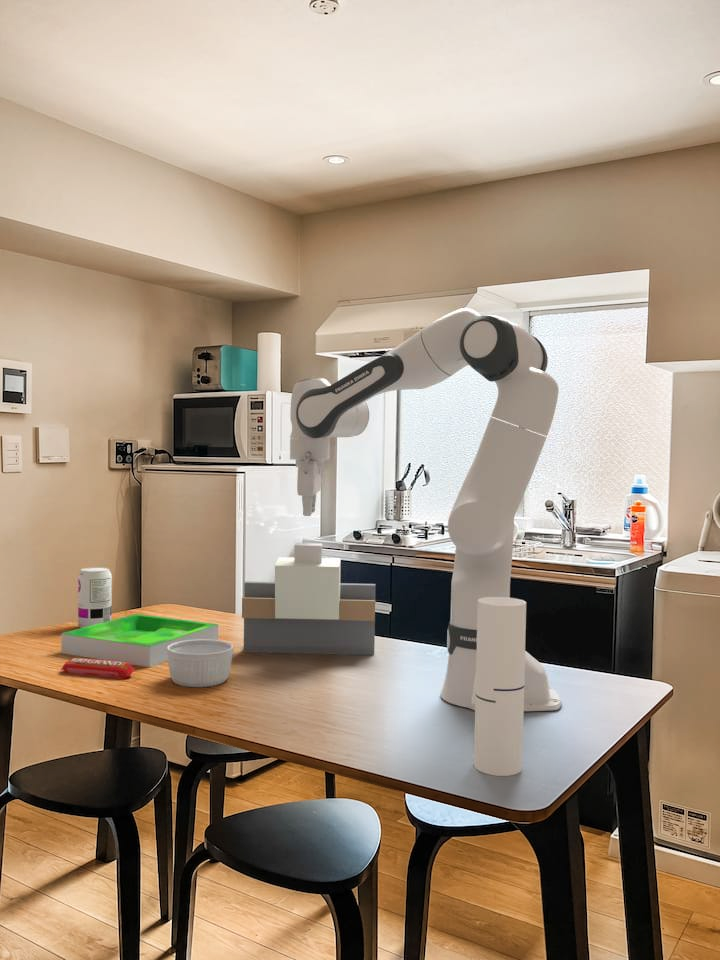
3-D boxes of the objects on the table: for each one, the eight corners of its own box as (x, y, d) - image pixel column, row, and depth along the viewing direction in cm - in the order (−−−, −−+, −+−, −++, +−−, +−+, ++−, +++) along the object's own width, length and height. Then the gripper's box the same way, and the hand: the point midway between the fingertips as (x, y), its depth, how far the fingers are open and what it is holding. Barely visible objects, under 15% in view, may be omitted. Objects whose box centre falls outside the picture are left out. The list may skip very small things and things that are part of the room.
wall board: (374, 648, 196) (375, 581, 196) (374, 658, 187) (375, 587, 187) (247, 645, 197) (248, 578, 196) (241, 655, 188) (242, 584, 187)
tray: (149, 669, 177) (149, 646, 177) (61, 655, 188) (61, 633, 187) (218, 644, 200) (218, 624, 199) (135, 633, 210) (135, 613, 210)
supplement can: (73, 630, 210) (73, 571, 209) (85, 623, 218) (85, 566, 218) (104, 631, 210) (105, 572, 209) (115, 624, 218) (115, 567, 217)
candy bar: (58, 674, 171) (58, 660, 171) (69, 670, 175) (69, 655, 175) (128, 681, 167) (128, 666, 167) (137, 676, 171) (137, 662, 171)
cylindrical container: (522, 777, 121) (526, 607, 120) (473, 773, 122) (476, 604, 121) (521, 759, 128) (525, 598, 127) (474, 755, 129) (478, 595, 128)
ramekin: (214, 668, 177) (214, 635, 177) (245, 682, 167) (245, 648, 167) (155, 677, 169) (156, 644, 169) (184, 693, 159) (184, 657, 159)
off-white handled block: (340, 609, 190) (340, 541, 187) (338, 619, 183) (339, 549, 180) (279, 607, 190) (278, 539, 188) (275, 618, 184) (274, 547, 181)
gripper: (320, 452, 175) (320, 518, 175) (326, 451, 195) (326, 510, 196) (290, 452, 175) (290, 517, 175) (300, 451, 195) (299, 510, 196)
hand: (309, 514), depth 186 cm, fingers open, 8 cm apart
